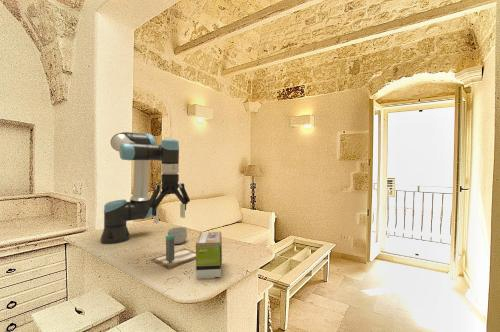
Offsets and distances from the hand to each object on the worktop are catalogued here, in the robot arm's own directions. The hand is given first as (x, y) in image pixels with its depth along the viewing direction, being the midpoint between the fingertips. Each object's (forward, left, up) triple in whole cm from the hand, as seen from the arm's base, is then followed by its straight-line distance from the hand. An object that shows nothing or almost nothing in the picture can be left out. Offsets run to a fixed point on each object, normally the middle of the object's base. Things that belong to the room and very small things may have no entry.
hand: (169, 220), depth 109 cm
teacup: (-24, +21, -20) cm, 38 cm away
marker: (0, 0, -19) cm, 19 cm away
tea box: (+19, +7, -20) cm, 29 cm away
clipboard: (-3, +6, -20) cm, 21 cm away
